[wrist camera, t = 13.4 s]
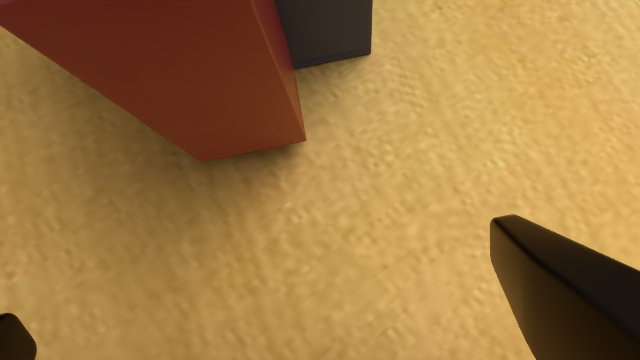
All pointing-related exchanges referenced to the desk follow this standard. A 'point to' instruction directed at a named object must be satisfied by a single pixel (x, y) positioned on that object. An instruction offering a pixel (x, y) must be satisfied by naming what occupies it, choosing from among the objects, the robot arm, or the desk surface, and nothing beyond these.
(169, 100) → the red post with hook
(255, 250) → the desk surface
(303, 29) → the storage box
